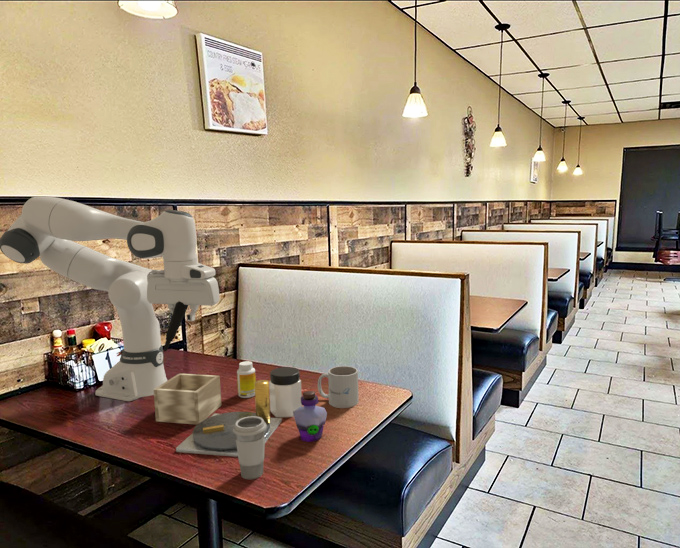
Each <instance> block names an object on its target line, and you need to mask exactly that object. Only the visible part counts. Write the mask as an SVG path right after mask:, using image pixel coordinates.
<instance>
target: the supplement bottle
mask: <svg viewBox="0 0 680 548" xmlns="http://www.w3.org/2000/svg"><path fill="white" fill-rule="evenodd" d="M238 366H239V367H238V369H237V370H236V378H237V379H236V380H237V382H236V383H237V394H238V395H237V396H238V397H240V398H241V399H242V398H243V399H250V398H253V397H255V384H254V383H255V382H256V381H257V379H256V377H257V375H256V369H255V367H253V362H252V361H251V360H250V361H249V360H247V361H242V362H241V361H240V362H239V364H238Z"/></svg>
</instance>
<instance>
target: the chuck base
mask: <svg viewBox="0 0 680 548" xmlns="http://www.w3.org/2000/svg"><path fill="white" fill-rule="evenodd" d="M219 414H220V413H216V412H213V413H212V414H211V415H210V417H212V416H215V415H219ZM270 421H271V422H270V431H269V433H268V434H267V435H266V436H265V444H266V443H267V442H268V440H269V438H270V437H271V436H272V435H273V433H274V432H275V431H276V429H277V428H278V427H279V426H280V424H281V423H282V421H283V417H270ZM175 449H176V450H175V452H176V453H184V454H197V455H198V454H199V455H210V456H222V457H223V456H224V457H225V456H226V457H235V458H238V453H237V449H229V450H214V449H208V448H204V447H201V446H199V445H198V444H196V443H195V442H194V440H193V432H192V433H191V434H189V436H188V437H186V438H185V440H183V441H182V442H181V443H180V444H179V445H177V447H175Z"/></svg>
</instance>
